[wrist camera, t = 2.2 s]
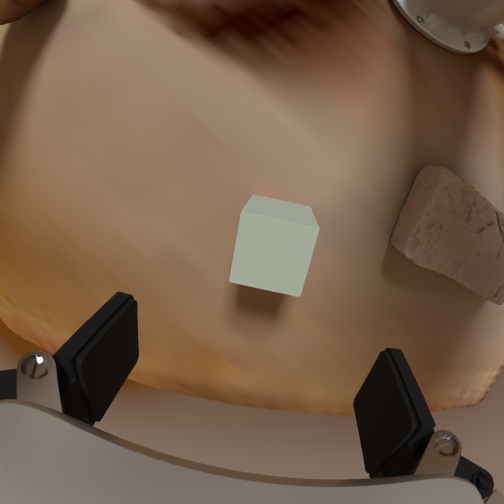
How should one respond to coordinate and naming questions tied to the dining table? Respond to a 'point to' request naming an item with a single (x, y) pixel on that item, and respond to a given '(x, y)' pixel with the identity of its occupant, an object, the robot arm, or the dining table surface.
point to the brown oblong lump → (16, 9)
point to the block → (274, 245)
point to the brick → (453, 232)
